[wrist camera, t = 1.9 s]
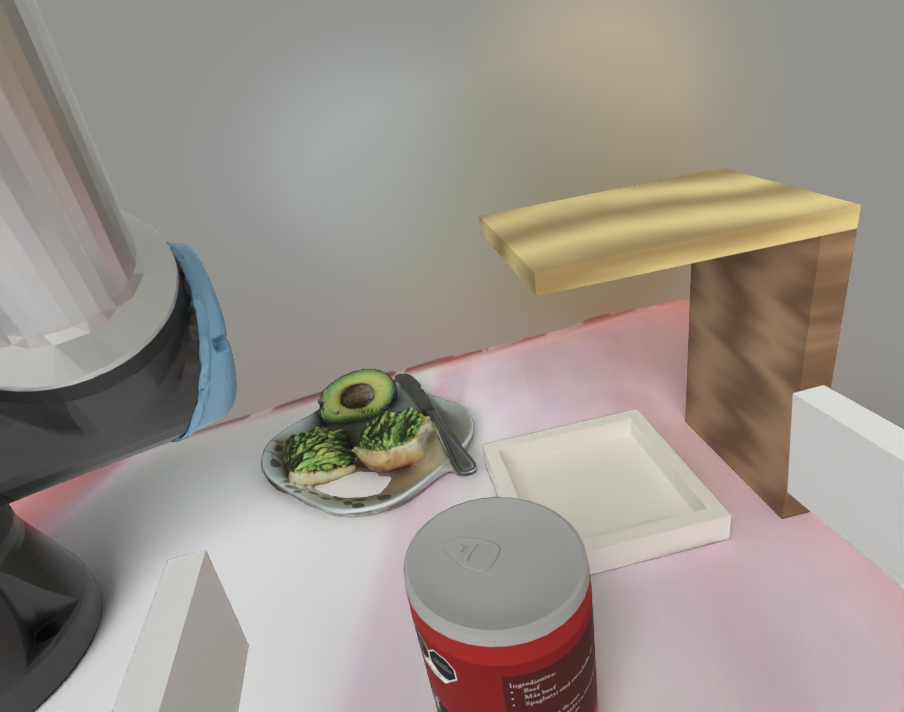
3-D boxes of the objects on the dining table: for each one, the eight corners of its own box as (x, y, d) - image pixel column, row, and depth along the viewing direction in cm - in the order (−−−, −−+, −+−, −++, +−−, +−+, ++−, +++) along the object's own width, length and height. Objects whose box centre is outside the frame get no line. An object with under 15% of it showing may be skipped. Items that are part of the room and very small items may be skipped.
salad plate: (537, 435, 51) (532, 390, 49) (384, 570, 41) (369, 519, 39) (389, 380, 64) (380, 342, 62) (242, 472, 53) (225, 429, 51)
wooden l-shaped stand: (810, 511, 39) (861, 205, 30) (561, 575, 38) (534, 272, 28) (708, 416, 50) (722, 168, 41) (511, 462, 48) (479, 215, 39)
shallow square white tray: (729, 539, 38) (731, 515, 37) (533, 589, 37) (530, 566, 36) (637, 429, 50) (637, 408, 49) (485, 464, 48) (482, 444, 48)
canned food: (461, 636, 35) (430, 490, 30) (602, 655, 32) (594, 500, 27) (422, 777, 28) (374, 621, 23) (594, 814, 26) (582, 649, 21)
